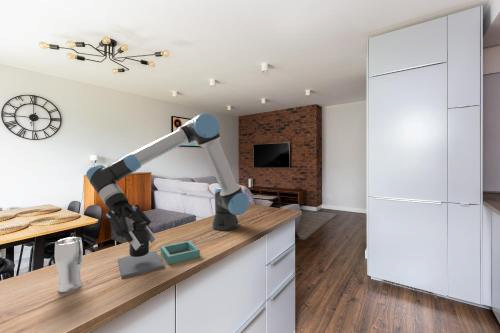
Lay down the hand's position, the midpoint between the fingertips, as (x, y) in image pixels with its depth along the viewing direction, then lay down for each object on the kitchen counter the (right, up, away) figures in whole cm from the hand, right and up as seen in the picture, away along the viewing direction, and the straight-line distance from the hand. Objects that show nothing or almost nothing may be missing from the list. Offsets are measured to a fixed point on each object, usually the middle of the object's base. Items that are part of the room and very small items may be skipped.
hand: (146, 244), depth 89 cm
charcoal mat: (-3, -8, +2) cm, 9 cm away
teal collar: (+10, -8, +10) cm, 16 cm away
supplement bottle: (-3, -4, +1) cm, 5 cm away
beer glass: (-18, -9, -14) cm, 24 cm away
